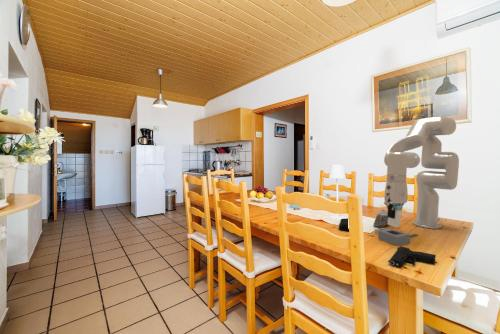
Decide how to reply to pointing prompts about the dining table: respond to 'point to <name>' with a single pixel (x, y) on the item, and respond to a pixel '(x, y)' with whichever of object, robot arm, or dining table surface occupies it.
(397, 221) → the plug
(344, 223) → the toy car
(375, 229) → the grey square frame
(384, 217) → the rock
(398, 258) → the handgun
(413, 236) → the dark grey bar
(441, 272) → the dining table surface
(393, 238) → the port
